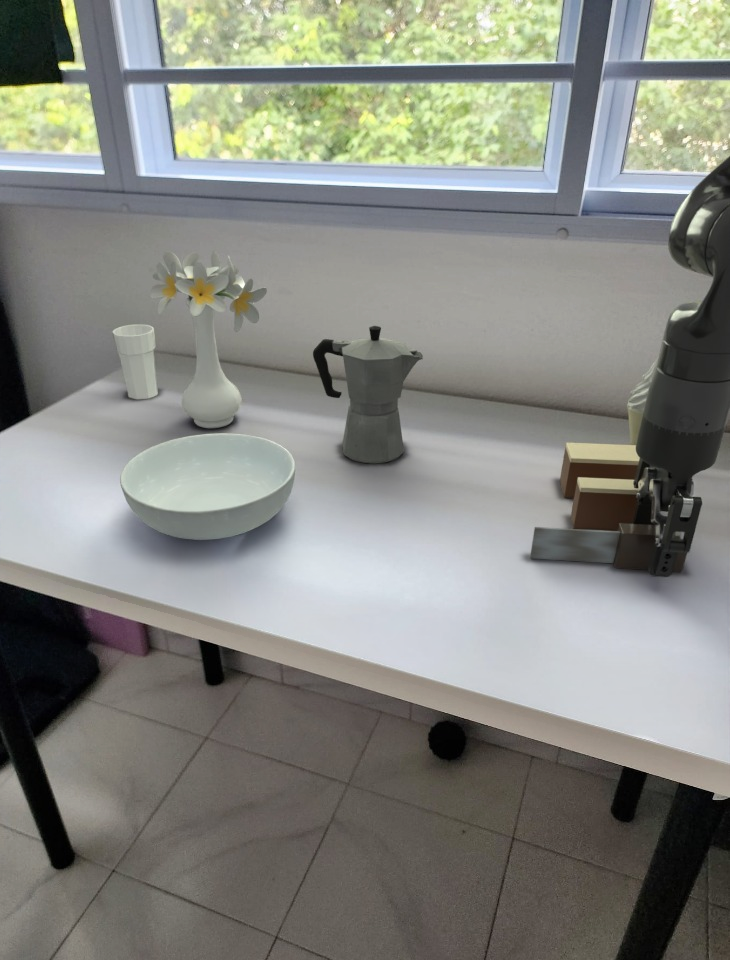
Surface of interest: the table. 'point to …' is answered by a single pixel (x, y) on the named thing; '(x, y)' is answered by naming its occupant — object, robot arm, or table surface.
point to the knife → (601, 546)
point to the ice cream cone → (639, 403)
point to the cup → (137, 359)
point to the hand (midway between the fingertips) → (649, 552)
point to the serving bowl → (208, 484)
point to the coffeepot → (370, 393)
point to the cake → (596, 463)
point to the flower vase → (207, 328)
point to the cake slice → (603, 503)
